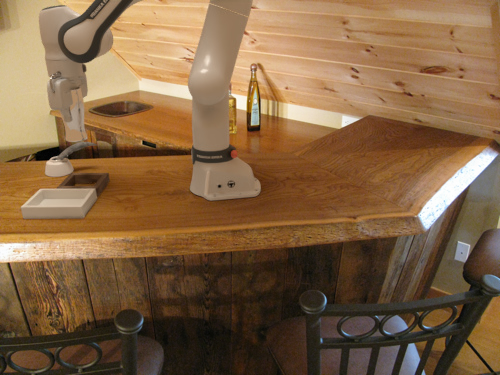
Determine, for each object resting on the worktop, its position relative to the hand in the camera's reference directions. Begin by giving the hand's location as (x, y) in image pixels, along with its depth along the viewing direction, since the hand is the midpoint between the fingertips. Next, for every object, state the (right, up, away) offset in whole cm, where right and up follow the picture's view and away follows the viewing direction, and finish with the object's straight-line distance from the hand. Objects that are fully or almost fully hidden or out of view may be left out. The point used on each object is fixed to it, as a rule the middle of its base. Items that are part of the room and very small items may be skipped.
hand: (73, 118), depth 118 cm
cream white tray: (-2, -26, -3) cm, 26 cm away
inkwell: (-10, -14, +24) cm, 29 cm away
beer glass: (0, -6, +3) cm, 6 cm away
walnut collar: (0, -21, +9) cm, 23 cm away
